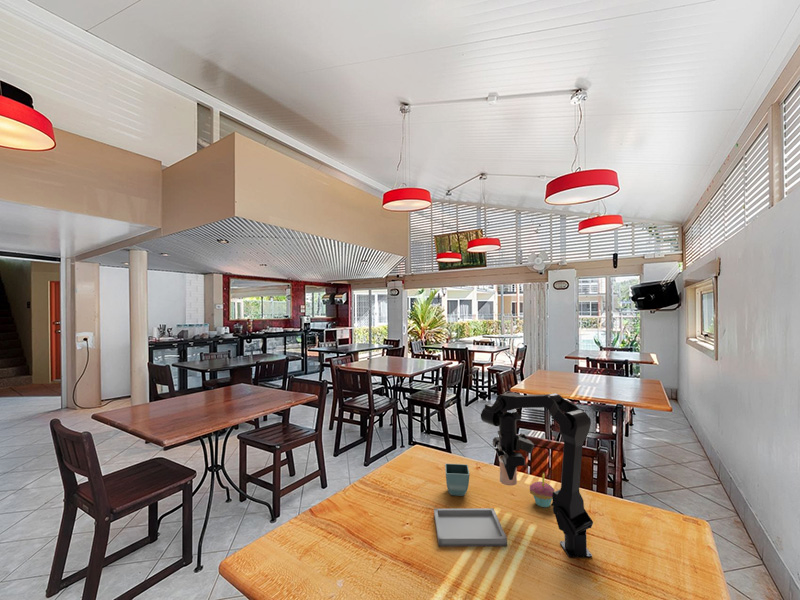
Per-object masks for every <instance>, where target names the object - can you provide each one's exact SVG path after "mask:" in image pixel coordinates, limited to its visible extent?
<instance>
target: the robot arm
mask: <svg viewBox="0 0 800 600" xmlns="http://www.w3.org/2000/svg"><path fill="white" fill-rule="evenodd" d="M523 408H525V409H526V408H527V409H529V408H530V409H531V408H536V409H537V408H539V409H540V408H546V409H547V410H548V411H549V413H550V415H551V418H552V419H553V420H554V421H555V422H556V423H557V425H558V426H559V427H558V428H559V433H560V435H561V437H562V440H563V452H562V453H563V454H562V467H561V469H562V470H561V480H560V481H561V482H560V488H559V489H557V490H554V491H555V492H553V494H552V498H553V499H552V501H551V503H550V506H551V507H552V511H553V514H554V516H555V519H556V522H557V526H558V529H559V530H560V531H562V532H563V535H564V540H560V541H559V545H561V546H560V547H562V549H563V550H564V552H565V553H566V554H567V556H568V558H572V559H573V558H576V559H579V558H593V554H592V553H591V552H590V550H589V549H588V548H587V546H588V545H587V542H588V541H587V530H589V529H591V528H592V527H593V525H594V521H593V520H592V518H591V517H590V515H589V513H588V512H587V511H586V509H585V503H584V498H583V496H582V494H581V491H580V485H581V474H582V473H581V472H582V471H581V470H582V458H583V457H582V456H583V444H584V442H585V440H586V438H587V437H588V436H589V432H590V429H591V425H592V424H591V423H592V420H591V417H590V415H588V414H587V413H586V411H584V410H583V409H580V408H579V406H577V405H576V404H574V403H572V402H570V401H568V400H566V399H565V398H564V397H563V396H562V395H560V394H559V393H555V392H554V393H548V394H530V395H528V394H527V395H523V394H520V393H516V392H507V393H502V394H498V395H497V396H496V399H495V401H494V403H493V404H491V403H486V404H484V408H483V409H482V410H481V413H480V419H481V421H482V422H483V423H486V424H489V425H491V426H494V427H498V430H497V435H498V436H495V437H494V438H493V439H492V445H493V447H494V450H495V452H496V454H497V457H498V458H499V456H501V455H503V459H504V460H502V461H503V464H504V467H505V469H506V472H507V475H508V478H509V480H513V476H514V473H515V470H516V467H517V468H518V467H525V466H526V458H525V456H523V454H521V453H520V450H521V451H524V452H527V453H528V454H532V452H533V449H534V448H535V444H534V443H533V442H532V440H530V439H528V437H527V435H526V434H525V433H522V432H521V433H520V434H518V433H517V421H519V420H522V416H521V415H520V414H518V411H514V412H510V411H513V410H518V409H523Z"/></svg>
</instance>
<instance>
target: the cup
mask: <svg viewBox="0 0 800 600" xmlns="http://www.w3.org/2000/svg"><path fill="white" fill-rule="evenodd" d="M502 460H504V459H503V455H501V456H499V457H498V461H499V482H500V483H501V484H503V485H504V486H510V487H511V486H515V485H517V483H518V479H517V477H518V476H517V475H518V473H517V471H518V470H517V469H518V466H517V467H516V470H515V473H514V476H513V480H509V478H508V475H507V472H506V469H505V467H504V464H503V461H502Z"/></svg>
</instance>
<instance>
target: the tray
mask: <svg viewBox="0 0 800 600" xmlns="http://www.w3.org/2000/svg"><path fill="white" fill-rule="evenodd" d="M433 509H434V510H433V515H434V517H433V518H434V523H435V530H436V536H437V543H438V544H437V545H438V547H508V537H507V535H506V533H505V531H504V529H503V526H502V524H501V522H500V520H499V517H498V515H497V513H496V511H495V509H494V508H487V507H486V508H485V507H484V508H483V507H482V508H481V507H480V508H473V507H472V508H433Z"/></svg>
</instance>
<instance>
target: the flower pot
mask: <svg viewBox="0 0 800 600" xmlns="http://www.w3.org/2000/svg"><path fill="white" fill-rule="evenodd" d="M444 467H445V468H444V469H445V470H444V471H445V481H446V482H445V483H446V487H447V491H448V493H449V496H458V497H459V496H460V497H461V496H462V497H463V496H465V495H466V493H467V491H468V489H469V484H470V477H471V476H470V473H471V472H470V470H469V466H468V464H463V463H462V464H460V463H445V464H444Z"/></svg>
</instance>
